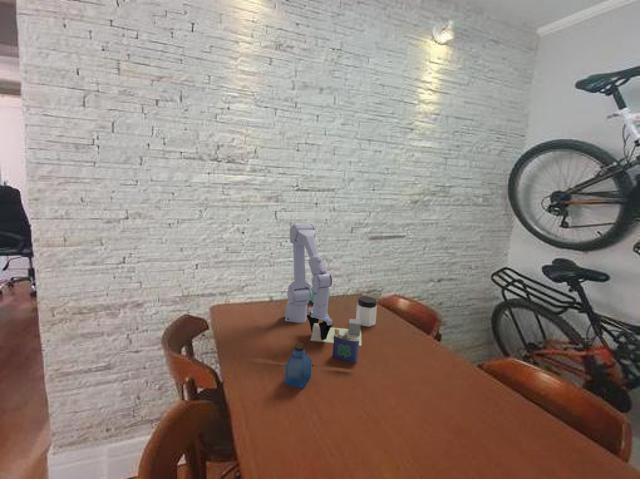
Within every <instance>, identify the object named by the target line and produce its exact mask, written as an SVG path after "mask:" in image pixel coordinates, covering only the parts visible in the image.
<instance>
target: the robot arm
mask: <svg viewBox="0 0 640 479" xmlns="http://www.w3.org/2000/svg"><path fill="white" fill-rule="evenodd" d="M316 232H317V231H316V227H315V225H314V224H313V223H310V224H309V223H308V224H294V223H293V224H292V225H291V226H290V228H289V241H290V244H292V250H293V278H294V280H293V281H292V282H291V283H290V284H288V287H287V288H288V290H287V299H288V300H287V301H286V305H285V312H284V313H285V318H284V321H285V322H291V323H295V324H296V323H297V324H300V323H301V324H302V323H306V322H307V320H308V322H309V325H310V331H311V333H312V332H313V326H314V323H318V324H319V327H320V332H321V340H325V339H326V338H327V335H328V332H329V330H330V328H331V327H332V326H334V323H333V319H332V318H331V317H330V315H329V314H328V308H329V307H328V306H329V299H328V293H329V292H330V290H329V288H330V287H331V286H332V285H333V277H332V274H331V273H330V271H329V270H327V269H326V265H325V263H324V260H323V258H322V257H321V256H320V255H319V254H318V253H319V252H318V249H317V244H316V241H315V238H316V234H317V233H316ZM305 249H306V250H305ZM305 252H306V253H307V255H308V256H309V259H308V262H307V263H308V266H309V268H310V272H311V275H312V278H311V284H310V283H309V282H307V281H306V258H305V256H306V255H305ZM311 285H312V287H313V292H314V300H313V302H312V304H313V305H312V307H308V304H309V303H310V301H311V298H312V291H311V288H312V287H311ZM319 321H322V322H319Z"/></svg>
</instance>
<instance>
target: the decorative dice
mask: <svg viewBox="0 0 640 479" xmlns="http://www.w3.org/2000/svg"><path fill="white" fill-rule="evenodd" d="M311 291H312V298H311V300H310V301H311V302H312V303H313V300H314V292H313V286H312V287H311ZM330 294H331V293H330V291H329V293H328V300H329V299H330Z"/></svg>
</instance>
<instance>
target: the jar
mask: <svg viewBox="0 0 640 479" xmlns="http://www.w3.org/2000/svg"><path fill="white" fill-rule="evenodd" d="M357 301H358V302H357V303H356V310H355V311H356V314H355V315H356V316H355V319H358V320H360V322H361V325H360V326H363V327H368V328H369V327H373V326H375V325H376V322H377V312H378V310H377V309H378V306H377V299H376V298H375V297H373V296H367V295H366V296H365V295H364V296H359V297H358V299H357Z"/></svg>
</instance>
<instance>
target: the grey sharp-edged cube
mask: <svg viewBox="0 0 640 479" xmlns="http://www.w3.org/2000/svg"><path fill="white" fill-rule="evenodd" d="M348 320H349V323H348V329H349V335H358V336H360V330H361V326H362V325H361V322H360V320H358V319H356V318H349V319H348Z"/></svg>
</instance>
